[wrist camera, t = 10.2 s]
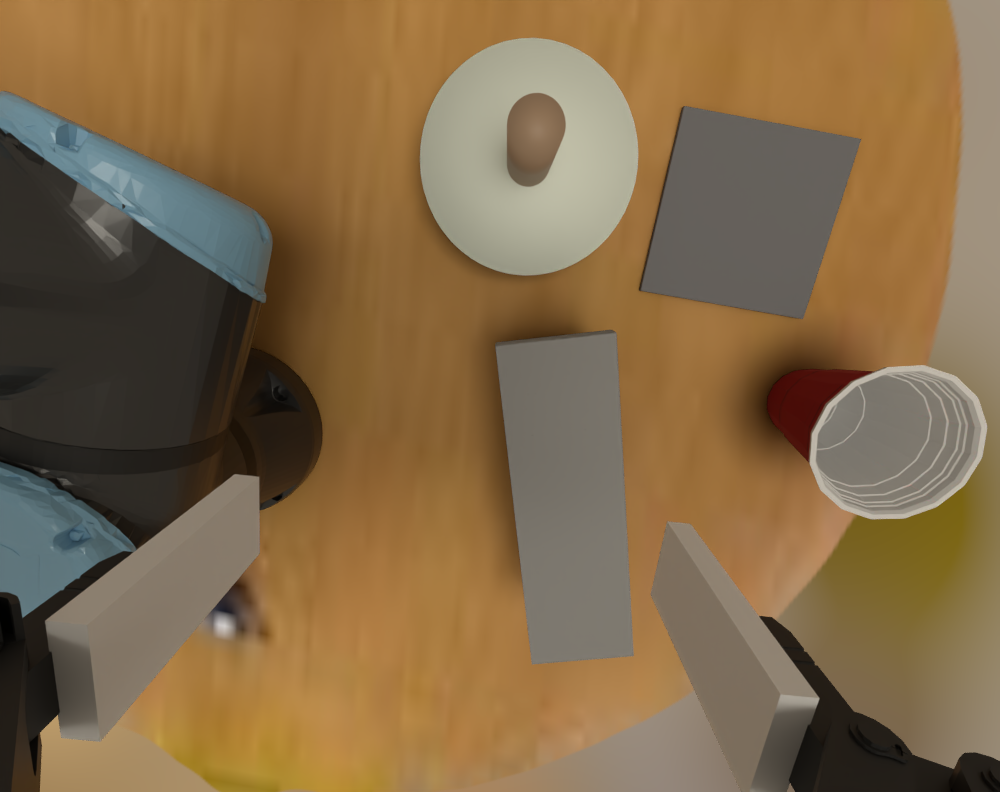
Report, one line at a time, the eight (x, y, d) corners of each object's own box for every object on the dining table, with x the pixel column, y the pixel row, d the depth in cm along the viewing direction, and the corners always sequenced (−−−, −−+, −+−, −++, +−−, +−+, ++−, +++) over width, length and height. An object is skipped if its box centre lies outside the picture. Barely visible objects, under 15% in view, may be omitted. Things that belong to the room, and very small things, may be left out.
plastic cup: (751, 332, 42) (844, 356, 30) (874, 347, 42) (1013, 376, 31) (722, 450, 45) (797, 513, 33) (837, 463, 45) (953, 531, 33)
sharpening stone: (498, 327, 42) (495, 345, 32) (588, 316, 42) (616, 332, 31) (526, 578, 48) (531, 664, 38) (605, 571, 48) (633, 656, 38)
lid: (409, 256, 36) (374, 251, 27) (437, 24, 32) (408, -79, 23) (608, 291, 36) (644, 298, 27) (658, 65, 33) (720, -18, 23)
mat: (639, 290, 41) (640, 290, 41) (682, 108, 38) (684, 106, 37) (799, 318, 42) (802, 319, 41) (856, 140, 38) (861, 139, 38)
